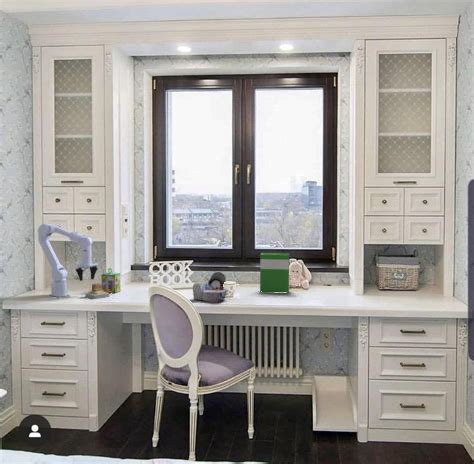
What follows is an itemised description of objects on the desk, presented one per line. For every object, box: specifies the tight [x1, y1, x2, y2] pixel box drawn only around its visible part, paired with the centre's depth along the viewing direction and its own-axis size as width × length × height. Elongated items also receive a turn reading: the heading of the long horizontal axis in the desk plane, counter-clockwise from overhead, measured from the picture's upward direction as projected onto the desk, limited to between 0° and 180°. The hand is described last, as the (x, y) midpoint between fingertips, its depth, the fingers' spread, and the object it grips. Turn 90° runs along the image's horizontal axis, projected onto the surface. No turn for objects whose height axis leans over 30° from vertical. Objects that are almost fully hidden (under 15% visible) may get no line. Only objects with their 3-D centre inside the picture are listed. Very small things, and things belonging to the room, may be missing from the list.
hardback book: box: [259, 252, 290, 293], centre depth 365 cm, size 18×7×24 cm, turn 83°
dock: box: [85, 292, 110, 300], centre depth 346 cm, size 10×10×2 cm
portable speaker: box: [207, 271, 227, 289], centre depth 373 cm, size 26×10×10 cm, turn 178°
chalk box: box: [100, 267, 122, 294], centre depth 362 cm, size 9×9×15 cm
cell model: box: [192, 281, 229, 303], centre depth 338 cm, size 13×11×20 cm
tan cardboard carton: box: [89, 283, 104, 295], centre depth 346 cm, size 7×5×6 cm
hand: (86, 279), depth 347 cm, fingers open, 7 cm apart
